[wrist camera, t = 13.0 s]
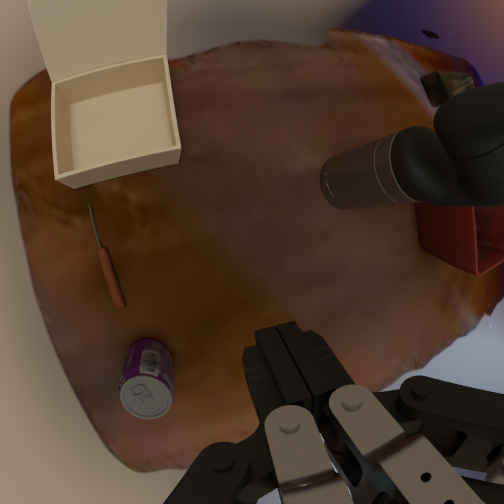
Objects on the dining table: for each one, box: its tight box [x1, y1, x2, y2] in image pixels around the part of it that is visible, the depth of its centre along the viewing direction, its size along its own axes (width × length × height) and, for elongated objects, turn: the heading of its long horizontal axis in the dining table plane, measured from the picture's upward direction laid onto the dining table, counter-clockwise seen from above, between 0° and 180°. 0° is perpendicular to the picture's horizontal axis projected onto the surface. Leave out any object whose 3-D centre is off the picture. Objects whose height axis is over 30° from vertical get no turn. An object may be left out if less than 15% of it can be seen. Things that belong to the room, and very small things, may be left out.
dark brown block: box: [421, 71, 475, 106], centre depth 53 cm, size 8×19×7 cm, turn 112°
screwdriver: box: [89, 202, 125, 309], centre depth 38 cm, size 16×1×2 cm, turn 17°
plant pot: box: [415, 202, 504, 276], centre depth 47 cm, size 19×19×17 cm
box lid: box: [27, 0, 167, 82], centre depth 23 cm, size 16×14×1 cm
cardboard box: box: [51, 54, 181, 189], centre depth 34 cm, size 16×14×8 cm
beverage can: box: [118, 339, 175, 419], centre depth 36 cm, size 7×7×12 cm
